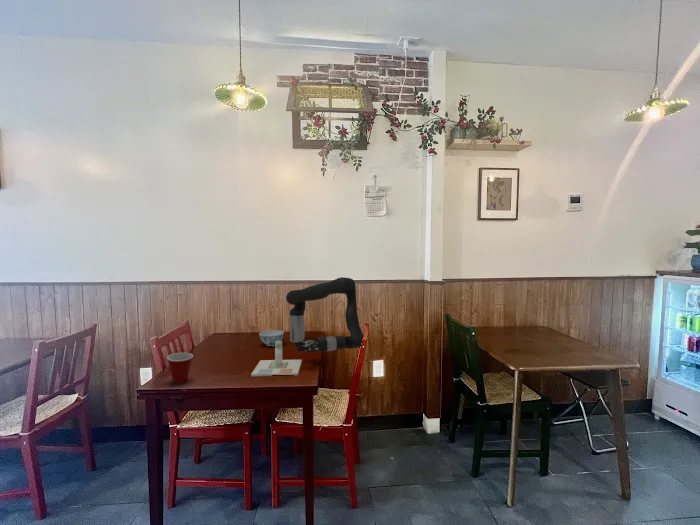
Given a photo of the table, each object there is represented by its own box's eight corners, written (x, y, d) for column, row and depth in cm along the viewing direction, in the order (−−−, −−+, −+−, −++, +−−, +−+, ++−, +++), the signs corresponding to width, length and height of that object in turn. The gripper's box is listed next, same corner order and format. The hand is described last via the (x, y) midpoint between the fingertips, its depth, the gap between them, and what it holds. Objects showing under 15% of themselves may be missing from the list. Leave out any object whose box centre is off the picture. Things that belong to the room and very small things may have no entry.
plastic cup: (183, 386, 153) (182, 360, 152) (162, 385, 155) (161, 358, 154) (198, 377, 163) (198, 352, 163) (178, 376, 165) (177, 351, 165)
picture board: (260, 362, 184) (260, 360, 184) (302, 361, 185) (301, 359, 185) (251, 376, 164) (251, 374, 164) (297, 375, 165) (297, 373, 165)
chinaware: (281, 348, 208) (280, 335, 208) (256, 348, 209) (256, 336, 208) (286, 341, 223) (285, 329, 223) (263, 341, 224) (262, 329, 223)
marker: (275, 363, 178) (275, 340, 178) (282, 363, 178) (282, 340, 178) (274, 366, 175) (274, 342, 174) (281, 366, 175) (281, 342, 174)
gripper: (323, 333, 190) (294, 336, 185) (329, 340, 176) (297, 343, 172) (323, 347, 190) (294, 350, 186) (329, 354, 177) (298, 358, 172)
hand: (296, 346), depth 179 cm, fingers open, 8 cm apart
